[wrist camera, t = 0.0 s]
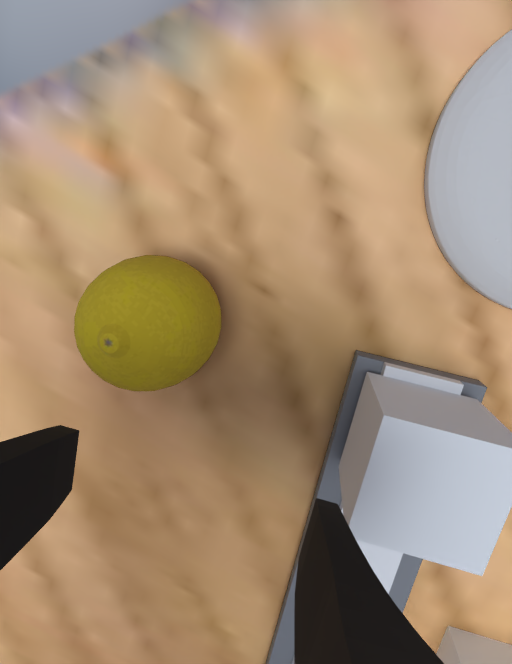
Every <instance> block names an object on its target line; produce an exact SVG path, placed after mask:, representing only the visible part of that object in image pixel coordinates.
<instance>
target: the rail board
mask: <svg viewBox="0 0 512 664" xmlns="http://www.w3.org/2000/svg"><path fill="white" fill-rule="evenodd" d="M486 389H487V387H486V386H485V385H484V384H482V383H481V382H480V381H479V380H475V379H471V378H467V377H463V376H459V375H454V374H450V373H446V372H442V371H438V370H434V369H430V368H426V367H422V366H418V365H414V364H410V363H406V362H402V361H398V360H394V359H390V358H386V357H382V356H378V355H374V354H370V353H365V352H361V351H357V350H356V352H355V355H354V359H353V362H352V366H351V369H350V373H349V376H348V380H347V383H346V387H345V390H344V393H343V397H342V400H341V404H340V407H339V411H338V414H337V418H336V421H335V425H334V428H333V432H332V435H331V439H330V442H329V446H328V449H327V453H326V456H325V459H324V463H323V466H322V470H321V473H320V477H319V480H318V484H317V487H316V491H315V494H314V498H313V501H312V505H311V508H310V512H309V515H308V519H307V522H306V525H305V529H304V532H303V536H302V539H301V543H300V546H299V550H298V553H297V557H296V560H295V564H294V567H293V571H292V574H291V578H290V581H289V585H288V588H287V592H286V595H285V598H284V602H283V605H282V609H281V612H280V616H279V619H278V623H277V626H276V630H275V633H274V637H273V640H272V644H271V647H270V651H269V654H268V658H267V661H266V664H294V609H295V586H296V577H297V568H298V560H299V555H300V552H301V548H302V545H303V541H304V538H305V534H306V531H307V528H308V524H309V521H310V517H311V514H312V510H313V507H314V503H315V500H316V498H319V499H322V500H326V501H329V502H333V503H336V504H338V506H339V507H340V509H341V511H342V513H343V515H344V517H345V519H346V521H347V523H348V525H349V527H350V529H351V531H352V533H353V535H354V537H355V539H356V541H357V543H358V545H359V547H360V548H361V550H362V552H363V554H364V556H365V557H366V559H367V561H368V563H369V564H370V566H371V568H372V569H373V571H374V573H375V574H376V576H377V577H378V579H379V581H380V582H381V584H382V585H383V587H384V588H385V590H386V591H387V593H388V594H389V596H390V597H391V599H392V600H393V601H394V603H395V604H396V606H397V607H398V608H399V609H400V611H401V612H402V613H403V610H404V608H405V605H406V602H407V600H408V597H409V594H410V592H411V589H412V586H413V584H414V581H415V578H416V576H417V573H418V570H419V568H420V565H421V562H422V560H423V559H425V560H428V561H432V562H435V563H439V564H442V565H446V566H449V567H453V568H456V569H459V570H463V571H466V572H470V573H473V574H477V575H480V576H482V575H483V573H484V571H485V568H486V566H487V564H488V561H489V559H490V556H491V554H492V552H493V549H494V547H495V545H496V542H497V540H498V537H499V535H500V533H501V530H502V528H503V526H504V523H505V521H506V518H507V516H508V514H509V511H510V509H511V507H512V433H511V432H510V431H509V430H508V429H507V428H506V427H505V426H504V425H503V424H502V423H501V422H500V421H499V420H498V419H497V418H496V417H495V416H494V415H493V414H492V413H491V412H490V411H489V410H488V409H487V408H486V407H485V406H484V405H483V404H481V402H482V400H483V397H484V394H485V392H486Z"/></svg>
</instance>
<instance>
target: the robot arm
mask: <svg viewBox="0 0 512 664" xmlns="http://www.w3.org/2000/svg"><path fill="white" fill-rule="evenodd" d="M78 437H79V430H76V429H72V428H68V427H65V426H61V425H59V426H55V427H50V428H46V429H43V430H39V431H36V432H32V433H29V434H26V435H23V436H19V437H16V438H13V439H9V440H6V441H2V442H0V570H1V569H2V568H3V567H4V566H5V565H6V564H7V563H8V562H9V561H10V560H11V559H12V558H13V557H14V556H15V555H16V554H17V553H18V552H19V551H20V550H21V549H22V548H23V547H24V546H25V545H26V544H27V543H28V542H29V541H30V539H31V538H32V537H33V536H34V535H35V534H36V533H37V532H38V531H39V530H40V529H41V528H42V527H43V526H44V525H45V524H46V523H47V522H48V521H49V519H50V518H51V517H52V516H53V514H54V513H55V512H56V511H57V509H58V508H59V507H60V505H61V504H62V503H63V501H64V500H65V498H66V497H67V496H68V494H69V493H70V492H71V490H72V483H73V476H74V468H75V460H76V452H77V445H78ZM294 664H444V663H443V662H442V661H441V659H440V658H439V657H438V656H437V655H436V654H435V653H434V651H433V650H432V649H431V648H430V647H429V646H428V645H427V643H426V642H425V641H424V640H423V639H422V638H421V636H420V635H419V634H418V633H417V632H416V630H415V629H414V628H413V627H412V625H411V624H410V623H409V621H408V620H407V619H406V617H405V616H404V615H403V613H402V612H401V611H400V609H399V608H398V607H397V606H396V604H395V603H394V601H393V600H392V599H391V597H390V596H389V594H388V593H387V591H386V590H385V588H384V587H383V585H382V584H381V582H380V581H379V579H378V577H377V576H376V574H375V573H374V571H373V569H372V568H371V566H370V564H369V563H368V561H367V559H366V557H365V556H364V554H363V552H362V550H361V548H360V547H359V545H358V543H357V541H356V539H355V537H354V535H353V533H352V531H351V529H350V527H349V525H348V523H347V521H346V519H345V517H344V515H343V513H342V511H341V509H340V507H339V506H338V504H336V503H333V502H329V501H326V500H322V499H319V498H316V500H315V503H314V507H313V510H312V514H311V517H310V521H309V524H308V528H307V531H306V534H305V538H304V541H303V545H302V548H301V552H300V555H299V560H298V568H297V577H296V586H295V609H294Z"/></svg>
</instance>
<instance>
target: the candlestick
mask: <svg viewBox="0 0 512 664" xmlns="http://www.w3.org/2000/svg"><path fill="white" fill-rule="evenodd" d="M424 191H425V204H426V210H427V215H428V219H429V223H430V226H431V230H432V232H433V235H434V238H435V240H436V242H437V244H438V246H439V248H440V250H441V252H442V253H443V255H444V257H445V258H446V260H447V261H448V263H449V264H450V265H451V267H452V268H453V269H454V270H455V272H456V273H457V274H458V275H459V276H460V277H461V278H462V279H463V280H464V281H465V282H466V283H467V284H468V285H470V286H471V287H472V288H473V289H475V290H476V291H477V292H479V293H480V294H482V295H483V296H485V297H486V298H488V299H490V300H492V301H494V302H496V303H498V304H500V305H502V306H504V307H507V308H510V309H512V30H510V31H509V32H508V33H506V34H505V35H504V36H503V37H501V38H500V39H499V40H498V41H497V42H496V43H494V44H493V45H492V46H491V47H490V48H489V49H488V50H487V51H486V52H485V53H484V54H483V55H482V56H481V57H480V58H479V59H478V60H477V62H476V63H475V64H474V65H473V66H472V67H471V68H470V70H469V71H468V72H467V73H466V75H465V76H464V77H463V78H462V80H461V81H460V82H459V84H458V85H457V87H456V88H455V90H454V91H453V93H452V94H451V96H450V98H449V99H448V101H447V103H446V105H445V107H444V109H443V111H442V113H441V115H440V117H439V119H438V122H437V124H436V127H435V129H434V132H433V135H432V138H431V142H430V145H429V150H428V154H427V159H426V167H425V179H424Z"/></svg>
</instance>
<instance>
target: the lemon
mask: <svg viewBox="0 0 512 664" xmlns="http://www.w3.org/2000/svg"><path fill="white" fill-rule="evenodd" d="M220 330H221V309H220V305H219V302H218V298H217V295H216V293H215V292H214V290H213V288H212V286H211V285H210V283H209V282H208V281H207V280H206V278H205V277H204V276H203V275H202V274H201V273H200V272H199V271H198V270H196V269H195V268H193V267H191V266H190V265H188V264H187V263H185V262H183V261H180V260H177V259H174V258H171V257H167V256H154V255H145V256H140V257H135V258H130V259H126V260H123V261H121V262H120V263H118V264H116V265H114V266H112V267H110V268H108V269H106V270H105V271H104V272H102V273H101V274H100V275H99V276H98V277H97V278H96V279H95V280H94V281H93V282H92V283H91V284H90V285H89V286H88V287H87V289H86V290H85V292H84V294H83V296H82V297H81V299H80V301H79V303H78V306H77V310H76V314H75V328H74V333H75V338H76V343H77V347H78V349H79V351H80V353H81V355H82V358H83V360H84V361H85V362H86V363H87V365H88V366H89V367H90V369H91V370H92V371H93V372H94V373H96V374H97V375H98V376H99V377H100V378H102V379H103V380H104V381H106V382H108V383H110V384H112V385H114V386H116V387H118V388H122V389H127V390H131V391H155V390H159V389H163V388H166V387H170V386H173V385H176V384H178V383H180V382H181V381H183V380H185V379H186V378H188V377H190V376H191V375H193V374H194V373H196V372H197V371H198V370H199V369H200V368H201V367H202V366H203V364H204V363H205V362H206V361H207V360H208V359H209V358H210V356H211V354H212V352H213V350H214V348H215V346H216V344H217V343H218V338H219V334H220Z"/></svg>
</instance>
